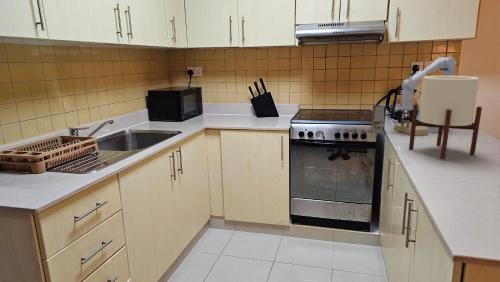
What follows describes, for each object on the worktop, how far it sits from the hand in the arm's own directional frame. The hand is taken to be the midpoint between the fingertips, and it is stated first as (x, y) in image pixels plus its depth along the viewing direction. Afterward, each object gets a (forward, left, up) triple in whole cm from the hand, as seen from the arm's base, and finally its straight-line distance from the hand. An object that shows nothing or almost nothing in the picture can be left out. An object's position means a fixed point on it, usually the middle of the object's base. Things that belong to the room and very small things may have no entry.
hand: (405, 122), depth 205 cm
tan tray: (-4, 0, -6) cm, 7 cm away
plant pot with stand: (+9, +41, -7) cm, 42 cm away
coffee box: (+14, -6, -7) cm, 16 cm away
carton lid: (-4, 0, -3) cm, 5 cm away
